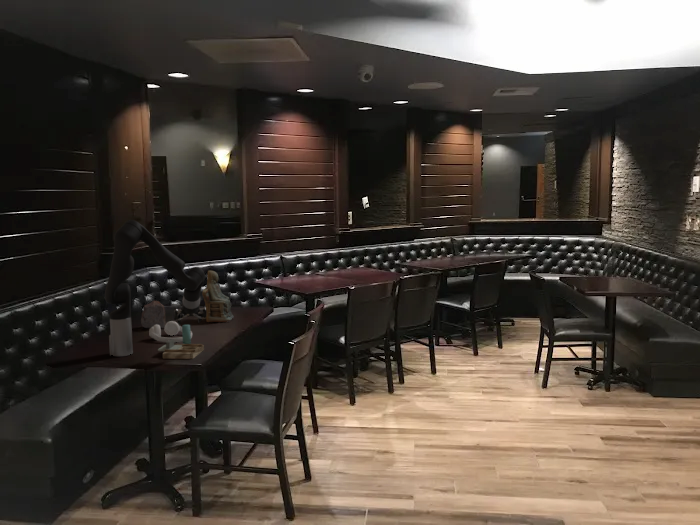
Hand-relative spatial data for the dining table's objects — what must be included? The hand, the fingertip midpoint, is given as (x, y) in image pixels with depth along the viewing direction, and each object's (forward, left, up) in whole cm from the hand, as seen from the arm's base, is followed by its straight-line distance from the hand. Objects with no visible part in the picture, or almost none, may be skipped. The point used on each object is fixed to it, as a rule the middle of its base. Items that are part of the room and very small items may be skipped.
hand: (189, 322), depth 272 cm
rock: (-38, +55, -15) cm, 69 cm away
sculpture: (-8, +75, -15) cm, 77 cm away
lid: (-9, -1, -13) cm, 16 cm away
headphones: (-19, +29, -15) cm, 38 cm away
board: (-3, -1, -15) cm, 15 cm away
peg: (-5, +11, -15) cm, 19 cm away
